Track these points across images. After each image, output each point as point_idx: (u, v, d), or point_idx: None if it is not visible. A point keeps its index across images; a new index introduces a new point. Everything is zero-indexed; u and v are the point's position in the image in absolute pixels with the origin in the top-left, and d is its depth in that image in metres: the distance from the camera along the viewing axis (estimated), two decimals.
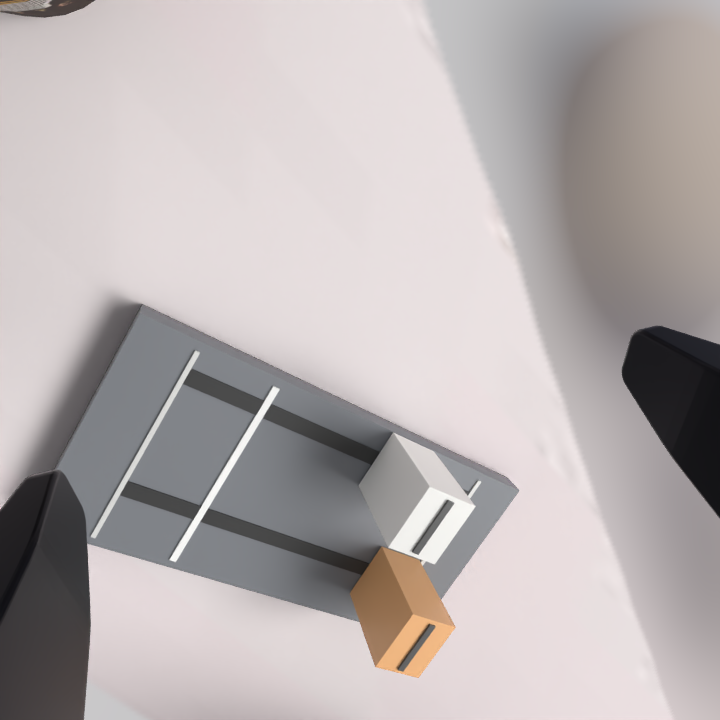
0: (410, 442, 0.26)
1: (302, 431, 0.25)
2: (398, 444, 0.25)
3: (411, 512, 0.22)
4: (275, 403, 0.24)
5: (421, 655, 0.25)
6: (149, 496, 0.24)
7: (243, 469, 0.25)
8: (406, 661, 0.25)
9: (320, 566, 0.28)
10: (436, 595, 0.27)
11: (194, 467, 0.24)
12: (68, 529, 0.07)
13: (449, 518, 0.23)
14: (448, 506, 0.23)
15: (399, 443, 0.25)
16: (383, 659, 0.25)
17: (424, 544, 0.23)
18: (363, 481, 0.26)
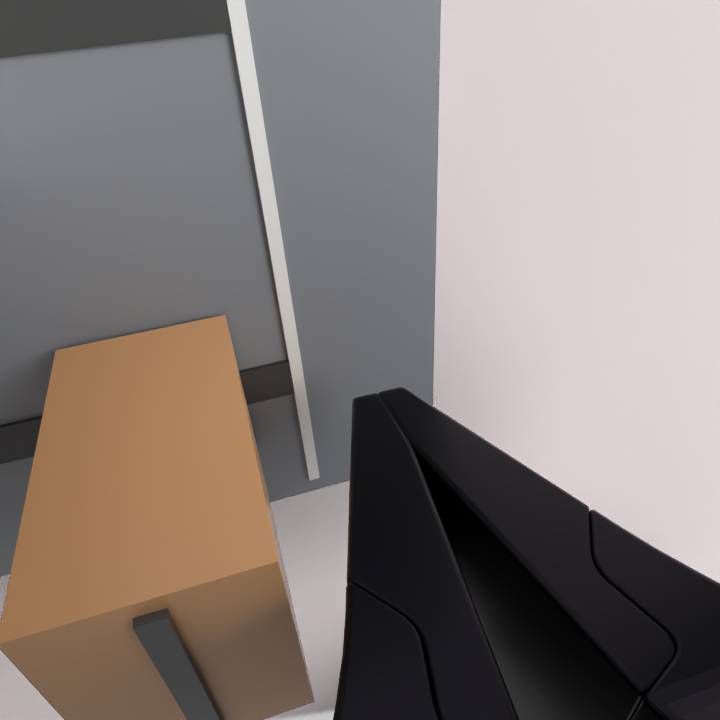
0: None
1: None
2: None
3: None
4: None
5: (245, 675, 0.06)
6: None
7: None
8: None
9: (2, 475, 0.09)
10: (236, 429, 0.07)
11: None
12: None
13: None
14: None
15: None
16: None
17: None
18: None
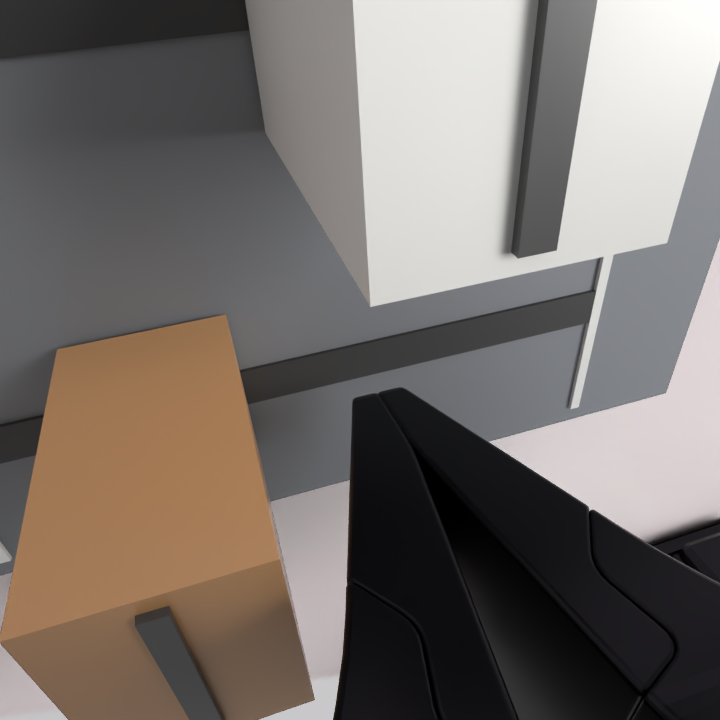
0: None
1: None
2: None
3: (352, 22, 0.03)
4: None
5: (246, 674, 0.06)
6: None
7: None
8: (198, 718, 0.06)
9: (348, 390, 0.10)
10: (237, 428, 0.07)
11: None
12: None
13: None
14: None
15: None
16: None
17: (561, 179, 0.04)
18: (263, 108, 0.07)
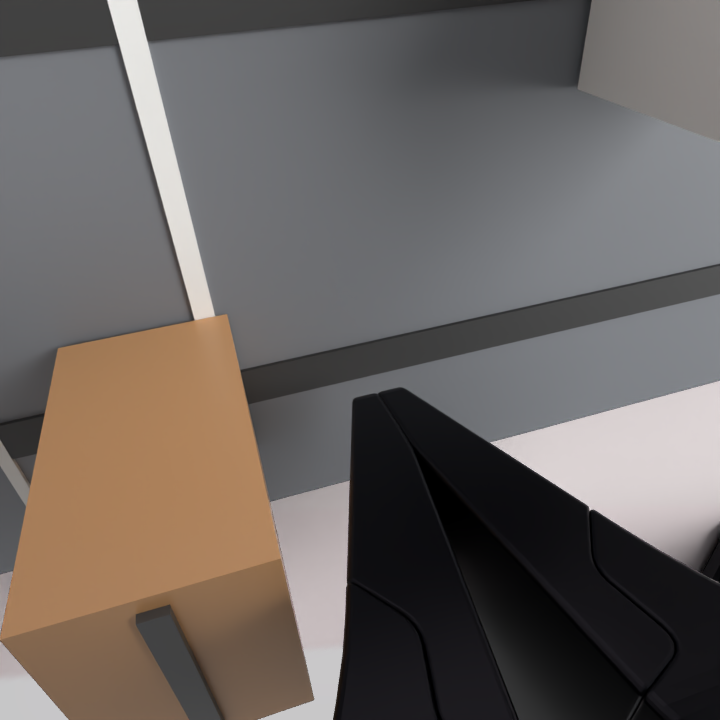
0: None
1: (308, 11, 0.07)
2: None
3: None
4: None
5: (246, 674, 0.06)
6: None
7: (232, 238, 0.08)
8: (198, 718, 0.06)
9: (568, 338, 0.11)
10: (238, 427, 0.07)
11: (106, 306, 0.08)
12: None
13: None
14: None
15: None
16: None
17: None
18: (587, 65, 0.08)
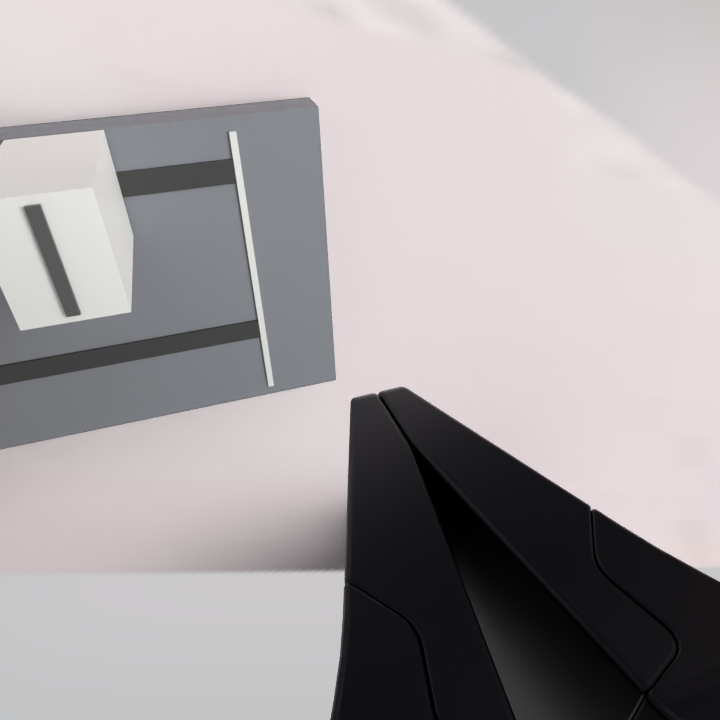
0: (38, 139, 0.15)
1: None
2: None
3: None
4: None
5: None
6: None
7: None
8: None
9: (119, 369, 0.20)
10: None
11: None
12: None
13: (67, 233, 0.12)
14: (37, 216, 0.12)
15: None
16: None
17: (72, 295, 0.13)
18: None
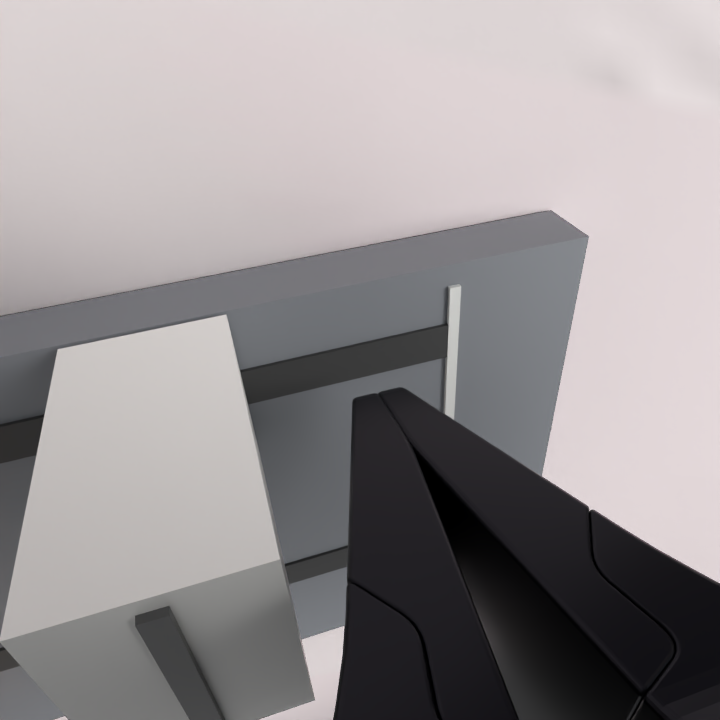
0: (119, 347, 0.08)
1: None
2: (52, 395, 0.08)
3: (58, 702, 0.06)
4: None
5: None
6: None
7: None
8: None
9: None
10: None
11: None
12: None
13: (218, 635, 0.06)
14: (161, 629, 0.05)
15: (50, 393, 0.08)
16: None
17: (215, 711, 0.06)
18: None
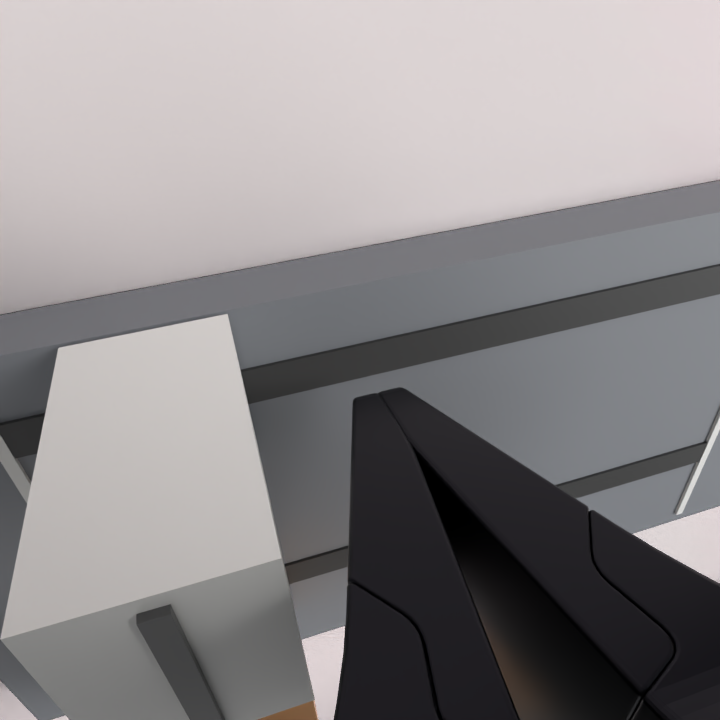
0: (120, 346, 0.08)
1: (344, 372, 0.10)
2: (53, 393, 0.08)
3: (57, 702, 0.06)
4: (240, 365, 0.09)
5: None
6: None
7: (285, 492, 0.12)
8: None
9: None
10: None
11: None
12: None
13: (218, 634, 0.06)
14: (162, 628, 0.05)
15: (51, 391, 0.08)
16: None
17: (215, 711, 0.06)
18: None
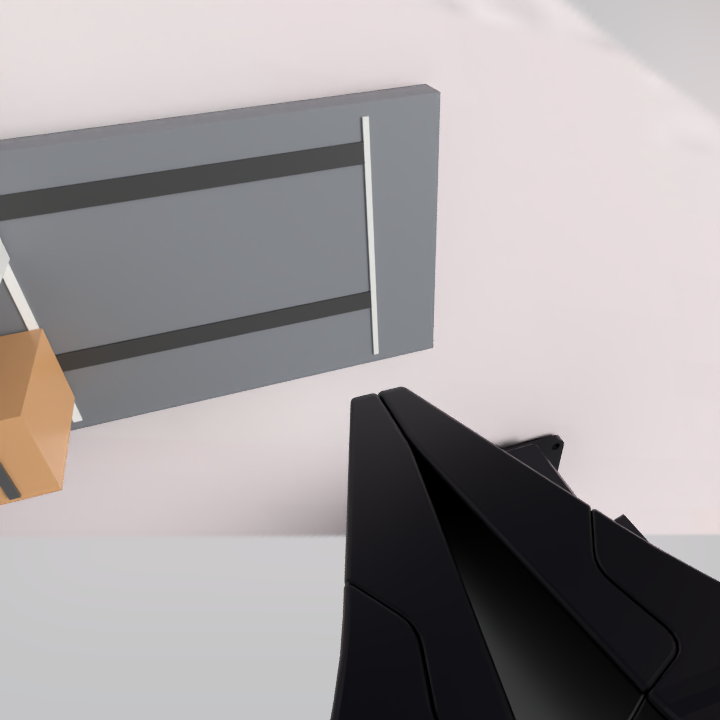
0: None
1: (57, 206, 0.17)
2: None
3: None
4: None
5: (22, 469, 0.16)
6: None
7: (41, 294, 0.18)
8: (4, 487, 0.16)
9: (247, 339, 0.21)
10: (25, 375, 0.17)
11: None
12: None
13: None
14: None
15: None
16: None
17: None
18: None
